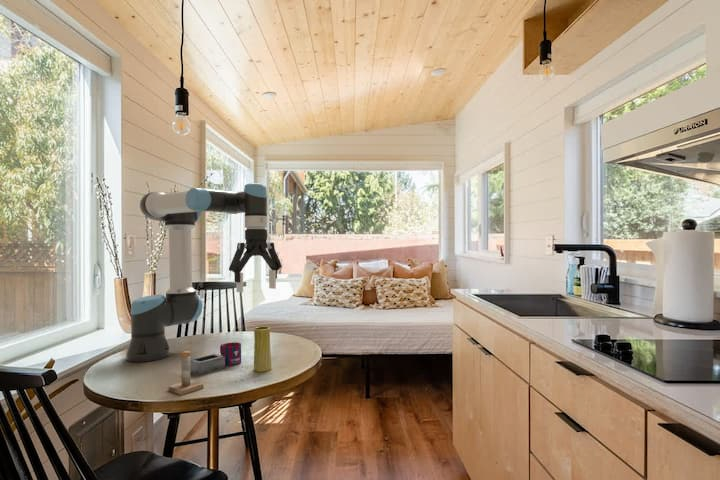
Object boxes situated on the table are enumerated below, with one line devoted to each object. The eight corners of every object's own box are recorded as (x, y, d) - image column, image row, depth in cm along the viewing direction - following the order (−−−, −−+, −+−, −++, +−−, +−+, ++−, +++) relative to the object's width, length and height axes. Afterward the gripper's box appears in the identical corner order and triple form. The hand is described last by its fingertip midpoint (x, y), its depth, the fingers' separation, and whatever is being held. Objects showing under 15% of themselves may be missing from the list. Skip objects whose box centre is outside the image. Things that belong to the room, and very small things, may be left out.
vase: (250, 369, 142) (249, 328, 142) (265, 365, 147) (265, 325, 147) (259, 373, 138) (259, 330, 138) (275, 369, 142) (274, 327, 142)
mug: (227, 367, 146) (227, 347, 146) (214, 361, 153) (214, 343, 153) (244, 363, 150) (244, 344, 150) (231, 357, 157) (230, 340, 157)
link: (188, 371, 141) (188, 359, 141) (213, 364, 149) (213, 353, 149) (199, 375, 137) (199, 363, 137) (225, 367, 145) (224, 356, 145)
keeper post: (168, 390, 123) (168, 353, 123) (190, 383, 129) (189, 348, 129) (181, 394, 119) (181, 356, 119) (203, 387, 124) (203, 351, 125)
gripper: (230, 227, 131) (231, 294, 131) (290, 229, 150) (291, 287, 150) (217, 228, 135) (218, 293, 135) (277, 229, 155) (278, 286, 155)
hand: (256, 290), depth 143 cm, fingers open, 13 cm apart
